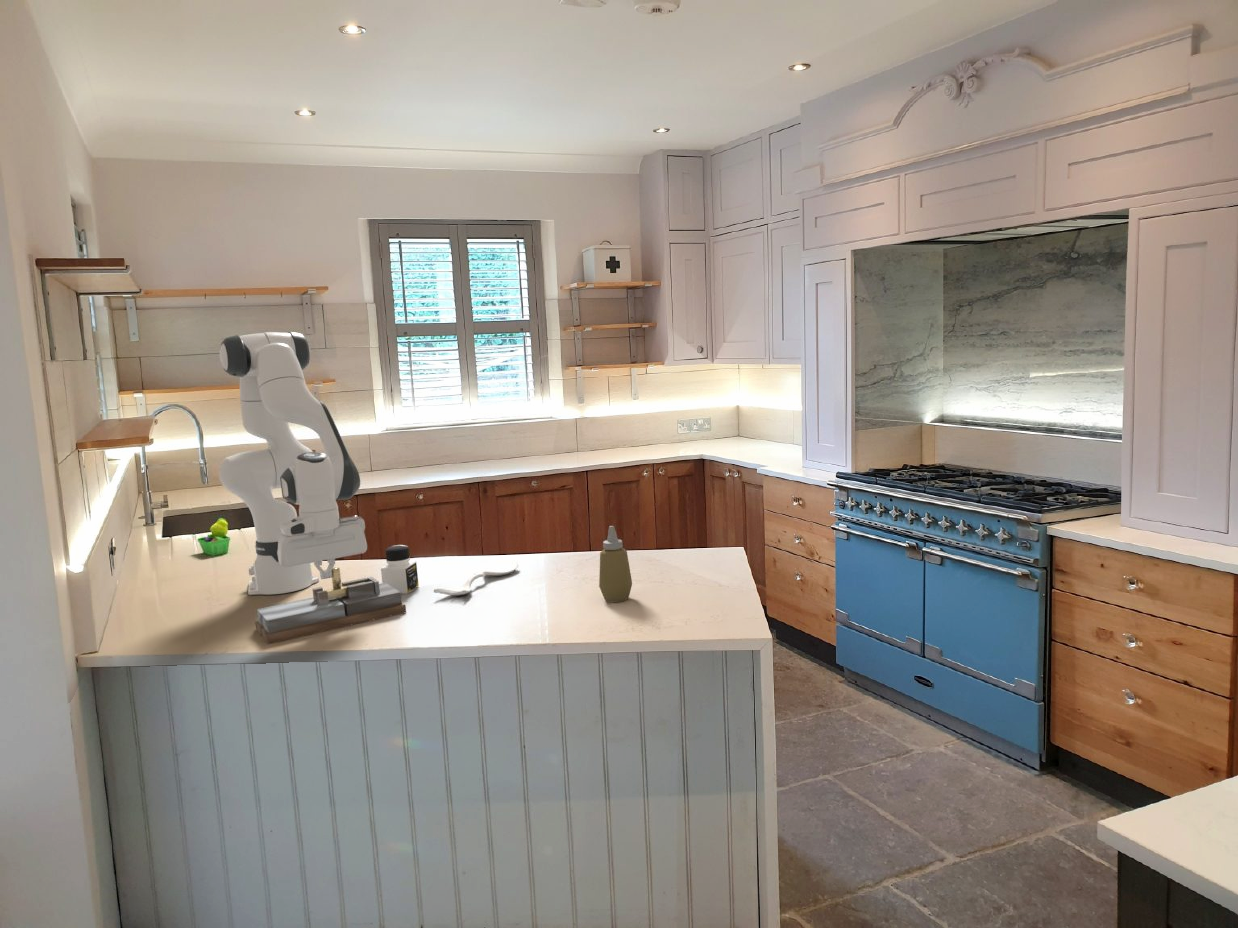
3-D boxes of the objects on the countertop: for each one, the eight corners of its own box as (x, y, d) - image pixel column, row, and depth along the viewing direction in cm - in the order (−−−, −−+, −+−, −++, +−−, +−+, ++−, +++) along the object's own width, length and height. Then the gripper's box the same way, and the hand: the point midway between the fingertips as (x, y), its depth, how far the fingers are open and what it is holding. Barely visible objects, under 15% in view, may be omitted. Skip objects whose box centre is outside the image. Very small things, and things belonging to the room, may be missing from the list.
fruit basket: (198, 553, 305) (193, 520, 303) (224, 547, 311) (220, 515, 309) (209, 557, 296) (205, 524, 295) (236, 551, 302) (232, 519, 301)
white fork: (433, 601, 227) (431, 588, 226) (496, 568, 256) (495, 556, 255) (463, 603, 223) (462, 589, 223) (524, 569, 252) (523, 557, 252)
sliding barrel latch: (256, 628, 212) (252, 596, 211) (387, 600, 229) (384, 570, 228) (268, 643, 201) (264, 609, 200) (406, 612, 218) (402, 580, 216)
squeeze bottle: (611, 606, 211) (606, 531, 209) (593, 599, 218) (588, 526, 215) (639, 599, 215) (634, 525, 213) (621, 592, 222) (617, 521, 220)
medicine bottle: (408, 594, 234) (403, 549, 233) (383, 594, 235) (378, 550, 234) (419, 586, 241) (414, 542, 239) (394, 586, 242) (389, 543, 241)
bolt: (324, 598, 215) (321, 570, 214) (365, 589, 220) (362, 562, 219) (326, 600, 213) (323, 571, 212) (368, 591, 218) (365, 563, 217)
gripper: (359, 512, 220) (365, 567, 222) (272, 526, 209) (279, 583, 211) (367, 515, 214) (373, 572, 216) (278, 530, 204) (285, 589, 206)
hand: (326, 578), depth 213 cm, fingers closed
